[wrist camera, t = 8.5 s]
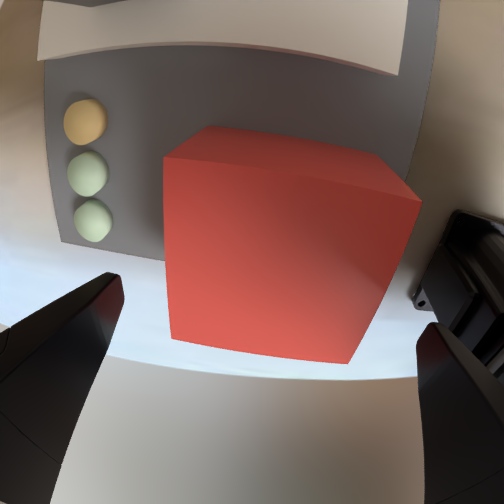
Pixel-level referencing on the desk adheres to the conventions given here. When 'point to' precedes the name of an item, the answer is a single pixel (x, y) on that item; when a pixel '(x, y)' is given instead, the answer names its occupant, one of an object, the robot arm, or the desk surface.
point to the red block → (279, 242)
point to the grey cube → (87, 2)
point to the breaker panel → (217, 93)
